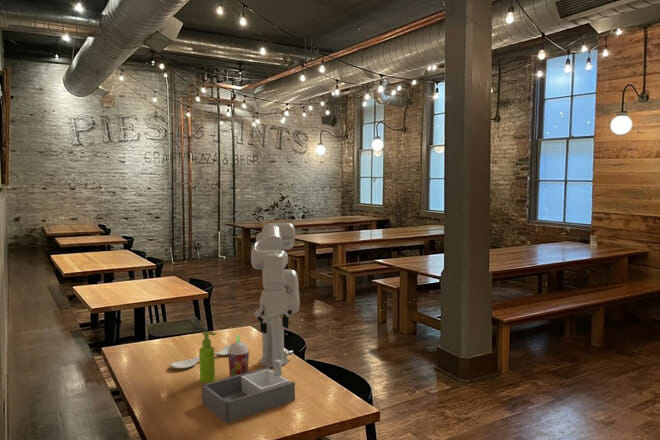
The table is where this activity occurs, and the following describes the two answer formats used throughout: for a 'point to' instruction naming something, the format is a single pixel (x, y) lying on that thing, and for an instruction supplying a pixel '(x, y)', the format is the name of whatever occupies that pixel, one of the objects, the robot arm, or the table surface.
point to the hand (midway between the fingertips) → (274, 329)
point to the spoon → (196, 359)
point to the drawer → (263, 379)
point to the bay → (243, 398)
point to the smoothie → (238, 358)
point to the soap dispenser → (207, 359)
